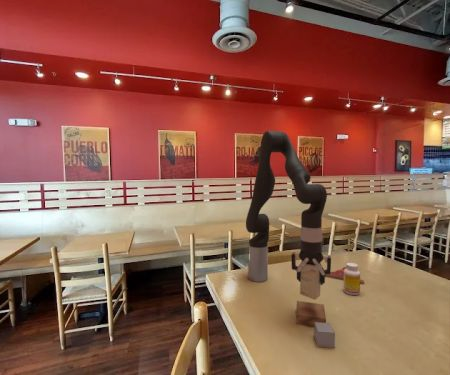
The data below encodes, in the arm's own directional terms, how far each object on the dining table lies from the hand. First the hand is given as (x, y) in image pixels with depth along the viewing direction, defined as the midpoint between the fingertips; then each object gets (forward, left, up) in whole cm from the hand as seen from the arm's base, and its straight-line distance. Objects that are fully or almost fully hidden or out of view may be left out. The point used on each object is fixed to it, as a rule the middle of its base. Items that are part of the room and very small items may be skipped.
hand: (310, 282), depth 95 cm
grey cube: (+5, -12, -14) cm, 19 cm away
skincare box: (0, 0, -5) cm, 5 cm away
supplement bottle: (+16, +28, -14) cm, 35 cm away
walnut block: (0, 0, -14) cm, 14 cm away
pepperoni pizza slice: (+15, +50, -15) cm, 54 cm away
